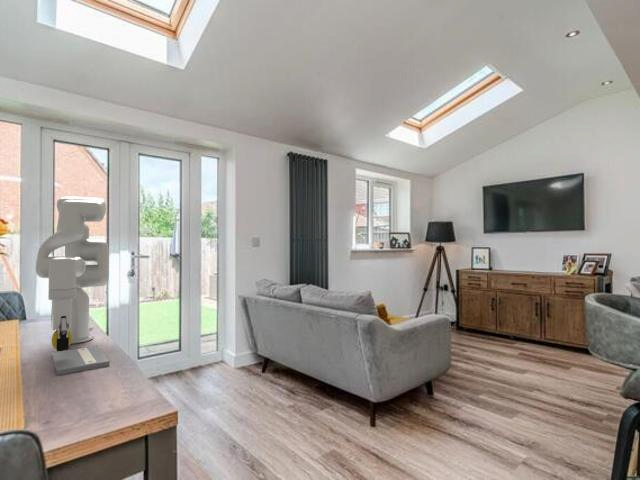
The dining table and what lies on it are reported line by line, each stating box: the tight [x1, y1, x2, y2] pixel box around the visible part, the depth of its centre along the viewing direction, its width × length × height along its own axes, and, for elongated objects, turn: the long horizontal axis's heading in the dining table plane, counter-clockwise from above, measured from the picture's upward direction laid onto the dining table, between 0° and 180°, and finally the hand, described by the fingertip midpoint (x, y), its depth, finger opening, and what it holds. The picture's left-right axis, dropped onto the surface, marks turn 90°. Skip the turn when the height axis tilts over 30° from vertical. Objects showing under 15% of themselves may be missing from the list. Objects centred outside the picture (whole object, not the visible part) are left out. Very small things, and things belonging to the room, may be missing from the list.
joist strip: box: [76, 347, 96, 364], centre depth 126 cm, size 22×3×1 cm, turn 40°
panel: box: [51, 345, 110, 376], centre depth 125 cm, size 24×14×2 cm, turn 40°
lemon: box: [51, 328, 72, 350], centre depth 122 cm, size 6×6×8 cm
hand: (61, 347), depth 122 cm, fingers closed on lemon, 5 cm apart
